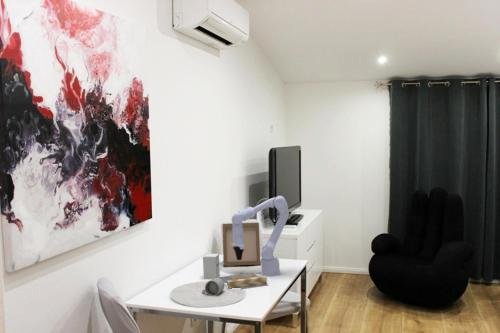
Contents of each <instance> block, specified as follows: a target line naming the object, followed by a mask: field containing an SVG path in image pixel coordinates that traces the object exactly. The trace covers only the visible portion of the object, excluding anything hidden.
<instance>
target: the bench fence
mask: <svg viewBox="0 0 500 333" xmlns="http://www.w3.org/2000/svg"><path fill="white" fill-rule="evenodd" d="M255 275H256V274H255ZM255 275H251V278H244V279H240V277H236V280H229V281H227V286H228V288H229V289H232V288H242V287H249V286H257V285H264V284H267V285H268V279H267V278H268V276H262V275H259V276H258V277H255ZM227 286H226V287H227ZM228 288H227V289H228ZM229 289H228V290H229Z"/></svg>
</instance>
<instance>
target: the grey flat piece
mask: <svg viewBox="0 0 500 333" xmlns="http://www.w3.org/2000/svg"><path fill="white" fill-rule="evenodd" d="M252 273H253V272H248V273H240V274H231V275H229V276H230V280H236V277H240V279H244V278H251V275H253V274H252ZM256 276H257V275H256ZM256 276H255V277H256Z"/></svg>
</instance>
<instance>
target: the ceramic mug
mask: <svg viewBox="0 0 500 333" xmlns="http://www.w3.org/2000/svg"><path fill="white" fill-rule="evenodd" d="M224 288H225V284H224V282H223V280H222V279H220V278H214V279H209V280H208V281H207V282H206V283H205V285H204V289H202V290H201V293H202V294H203V293H204V294H206V295H207V296H211V295H212V294H214V295H215V296H218V294H220V293H222V292H223V291H224ZM211 293H212V294H211ZM210 294H211V295H210ZM215 296H214V297H215Z"/></svg>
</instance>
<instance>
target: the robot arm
mask: <svg viewBox="0 0 500 333" xmlns="http://www.w3.org/2000/svg"><path fill="white" fill-rule="evenodd" d="M274 207H275V209H277V211H278V214H279V216H278V218H277V221H276V223H275V225H274V228H273V230H272V232H271V234H270V236H269V238H268V240H267V242H266V244H265V245H264V246H263V247H262V250H261V257H260V265H261V272H259V275H260V276H266V277H273V276H274V277H275V276H280V275H281V272H280V261H279V259H278V257H275V256H274V251H275V249H276V248H275V247H276V245H277V243H278V241H279V239H280V236H281V235H282V232H283V229H284V227H285V225H286V223H287V221H288V219H289V216H290V213H289V206H288V202H287V200H286V198H285V197H284V196H283V195H277V196H275V197H272V198H269V199H267V200H265V201H263V202H262V203H260V204H258V205H256V206H254V207H252V206H249V207H248V206H246V207H245V208H244V209H243V210H241V211H240V210H239V211H237V213H235V214H233V215H232V217H231V224H232V223H233V224H232V225H233V228H232V229H233V244H231V245H232V246H233V245H234V246H235V247H233V249H234V251H235V254H236V258H237V260H241V259H242V254H243V251H244V241H243V226H242V223H243V222H245V221H247V220H248V221H249V220H250V219H252V218H254V217H255V216H256V214H257V213H259V212H261V211H264V210H266V209H268V208H271V209H274Z"/></svg>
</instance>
